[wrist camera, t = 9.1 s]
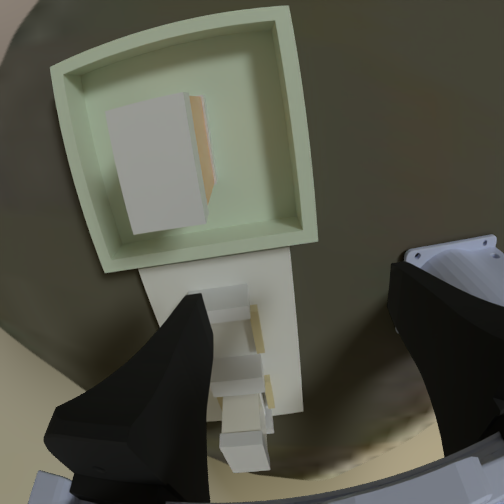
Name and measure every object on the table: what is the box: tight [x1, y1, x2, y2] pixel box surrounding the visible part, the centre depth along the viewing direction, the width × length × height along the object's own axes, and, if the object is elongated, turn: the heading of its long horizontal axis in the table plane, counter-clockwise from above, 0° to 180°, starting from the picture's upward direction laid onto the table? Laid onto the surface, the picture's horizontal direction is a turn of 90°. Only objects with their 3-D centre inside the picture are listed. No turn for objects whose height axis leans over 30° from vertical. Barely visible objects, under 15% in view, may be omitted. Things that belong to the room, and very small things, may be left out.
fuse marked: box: [105, 92, 218, 235], centre depth 14 cm, size 3×5×7 cm, turn 7°
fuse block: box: [138, 246, 303, 434], centre depth 24 cm, size 10×18×4 cm, turn 9°
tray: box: [50, 6, 318, 273], centre depth 16 cm, size 13×13×3 cm
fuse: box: [220, 393, 270, 473], centre depth 23 cm, size 3×5×7 cm, turn 9°
